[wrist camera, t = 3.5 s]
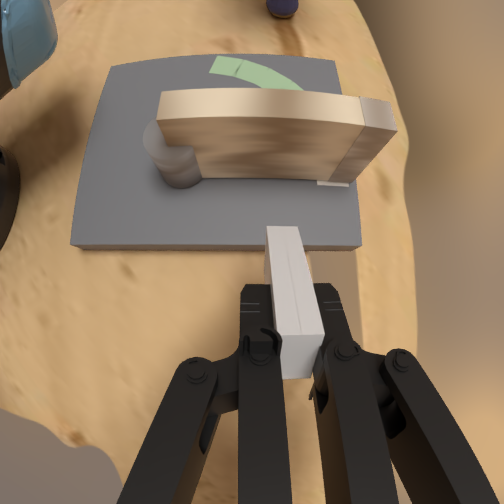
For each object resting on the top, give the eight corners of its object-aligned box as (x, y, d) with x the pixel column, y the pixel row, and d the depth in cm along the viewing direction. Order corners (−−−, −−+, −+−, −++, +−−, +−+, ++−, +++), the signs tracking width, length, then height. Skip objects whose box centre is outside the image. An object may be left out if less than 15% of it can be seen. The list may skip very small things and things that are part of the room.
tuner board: (84, 249, 23) (69, 244, 21) (118, 80, 26) (111, 66, 24) (350, 251, 24) (362, 245, 22) (329, 75, 27) (334, 60, 25)
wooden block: (159, 189, 22) (121, 135, 14) (164, 147, 22) (134, 84, 14) (352, 191, 22) (400, 142, 14) (347, 151, 23) (387, 92, 15)
